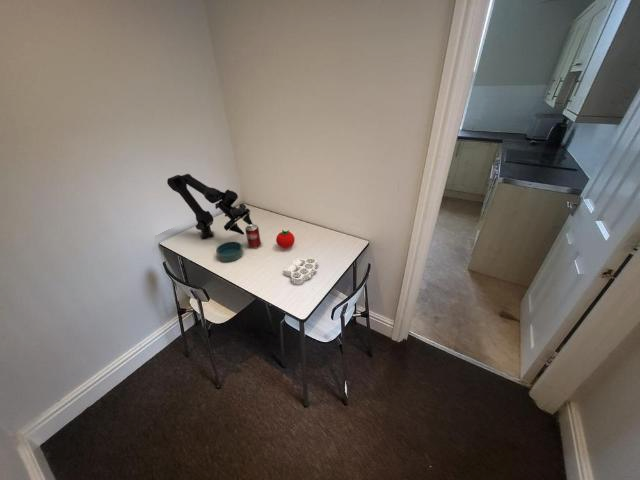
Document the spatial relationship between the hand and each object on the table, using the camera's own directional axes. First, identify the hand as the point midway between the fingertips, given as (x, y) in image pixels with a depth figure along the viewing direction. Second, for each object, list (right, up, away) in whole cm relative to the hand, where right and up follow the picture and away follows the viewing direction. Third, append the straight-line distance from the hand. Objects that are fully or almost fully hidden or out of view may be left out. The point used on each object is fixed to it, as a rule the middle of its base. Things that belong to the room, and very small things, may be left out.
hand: (248, 230), depth 143 cm
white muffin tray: (+31, -22, -16) cm, 41 cm away
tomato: (+21, -9, +3) cm, 23 cm away
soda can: (+2, -9, +5) cm, 10 cm away
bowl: (-9, -14, -3) cm, 17 cm away
